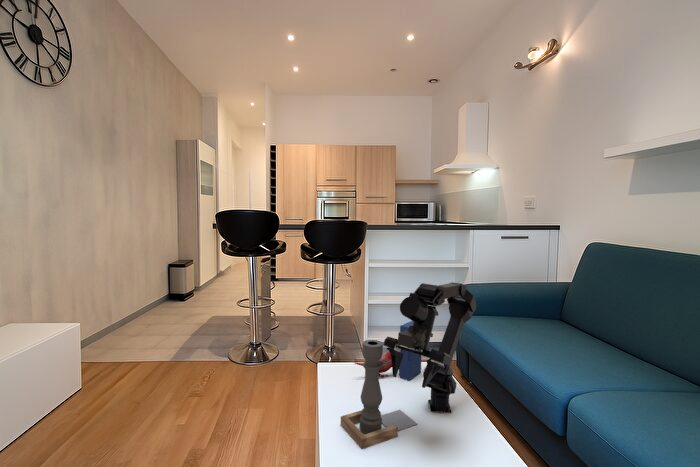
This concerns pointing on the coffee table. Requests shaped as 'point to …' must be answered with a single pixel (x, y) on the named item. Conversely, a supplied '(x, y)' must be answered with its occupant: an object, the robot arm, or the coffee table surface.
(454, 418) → the coffee table surface
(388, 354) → the decorative bird figurine
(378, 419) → the candle holder
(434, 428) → the coffee table surface
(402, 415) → the mat
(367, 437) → the wooden u-shaped frame
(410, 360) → the electronic device
